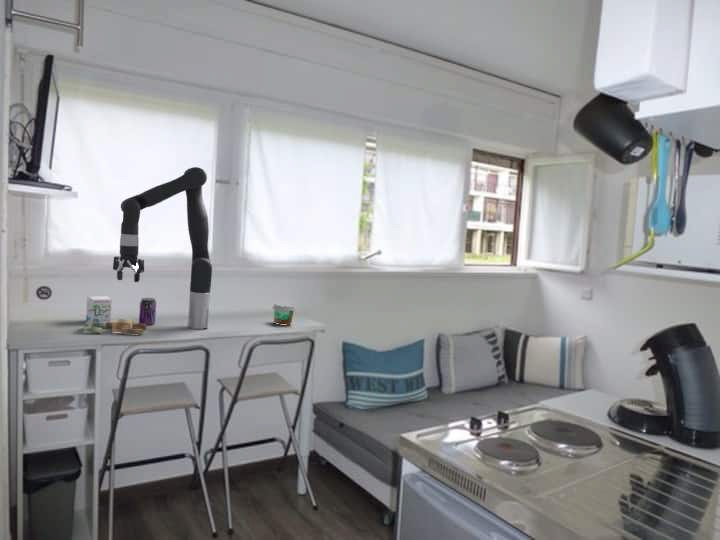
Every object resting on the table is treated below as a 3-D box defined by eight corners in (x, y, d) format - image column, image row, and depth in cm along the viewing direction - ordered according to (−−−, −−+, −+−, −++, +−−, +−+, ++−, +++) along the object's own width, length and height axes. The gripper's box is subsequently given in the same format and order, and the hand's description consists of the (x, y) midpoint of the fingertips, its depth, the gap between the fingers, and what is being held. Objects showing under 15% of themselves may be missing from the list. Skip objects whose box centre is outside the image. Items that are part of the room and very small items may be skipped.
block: (132, 330, 234) (132, 319, 234) (129, 334, 227) (130, 322, 227) (115, 330, 232) (115, 318, 232) (112, 333, 226) (112, 322, 225)
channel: (146, 329, 238) (146, 320, 238) (142, 335, 227) (143, 326, 226) (90, 327, 232) (90, 318, 232) (83, 333, 220) (84, 324, 220)
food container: (267, 323, 275) (268, 304, 274) (273, 321, 281) (274, 303, 280) (287, 327, 271) (289, 308, 270) (293, 325, 277) (295, 306, 276)
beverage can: (149, 326, 244) (150, 300, 243) (135, 324, 246) (137, 299, 244) (158, 323, 251) (159, 298, 250) (144, 321, 252) (146, 297, 251)
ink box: (90, 324, 237) (91, 299, 236) (85, 320, 243) (86, 296, 242) (110, 323, 242) (112, 298, 241) (105, 319, 249) (106, 295, 248)
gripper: (148, 245, 233) (147, 281, 235) (121, 242, 237) (120, 278, 238) (137, 246, 226) (136, 283, 228) (109, 243, 230) (108, 280, 231)
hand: (128, 281), depth 233 cm, fingers open, 8 cm apart
